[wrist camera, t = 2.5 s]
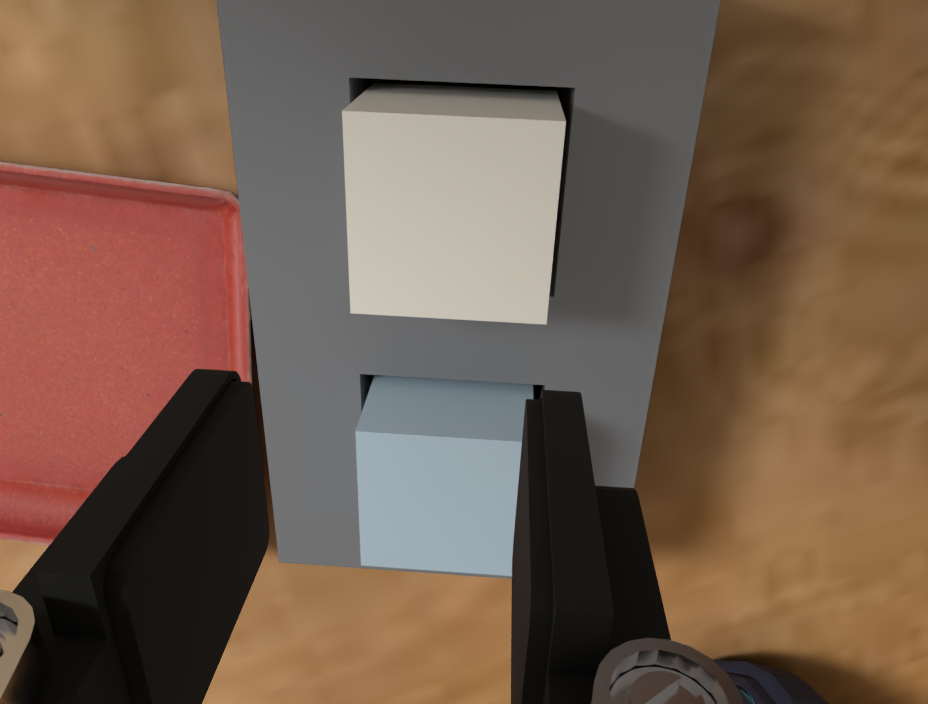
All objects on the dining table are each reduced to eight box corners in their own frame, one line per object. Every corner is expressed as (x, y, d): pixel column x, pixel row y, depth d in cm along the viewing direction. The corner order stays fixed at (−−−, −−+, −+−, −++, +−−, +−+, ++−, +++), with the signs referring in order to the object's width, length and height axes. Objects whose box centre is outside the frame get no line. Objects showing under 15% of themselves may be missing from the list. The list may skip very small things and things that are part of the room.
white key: (374, 82, 24) (341, 110, 19) (556, 90, 23) (566, 121, 19) (377, 254, 26) (350, 313, 22) (541, 262, 26) (546, 324, 22)
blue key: (380, 358, 28) (355, 431, 24) (532, 366, 28) (534, 442, 24) (382, 479, 31) (360, 565, 27) (521, 488, 31) (522, 576, 26)
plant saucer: (272, 170, 29) (244, 194, 26) (275, 526, 37) (254, 574, 34) (-191, 110, 29) (-271, 127, 26) (-83, 479, 37) (-133, 524, 34)
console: (266, -33, 25) (213, -31, 21) (685, -17, 24) (722, -11, 20) (308, 486, 35) (278, 562, 31) (603, 506, 35) (616, 586, 30)
